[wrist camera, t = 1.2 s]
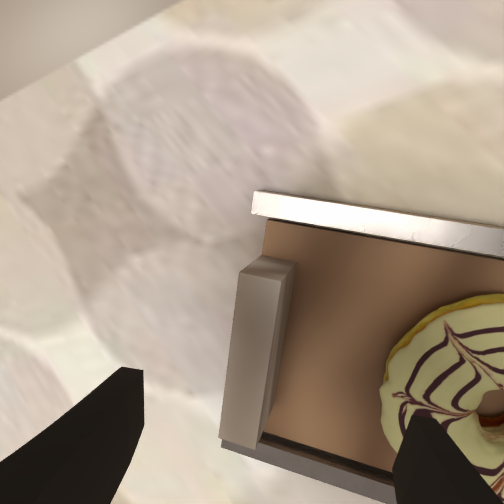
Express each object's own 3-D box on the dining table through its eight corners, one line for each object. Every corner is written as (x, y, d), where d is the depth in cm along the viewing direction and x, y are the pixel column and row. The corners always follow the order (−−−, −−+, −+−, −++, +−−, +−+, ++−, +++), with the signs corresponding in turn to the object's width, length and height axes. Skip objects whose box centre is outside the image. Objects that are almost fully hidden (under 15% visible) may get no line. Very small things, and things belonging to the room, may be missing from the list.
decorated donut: (358, 436, 22) (357, 485, 19) (407, 264, 20) (416, 282, 16) (559, 503, 20) (601, 575, 16) (644, 317, 17) (716, 353, 14)
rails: (604, 555, 20) (622, 584, 18) (229, 431, 25) (220, 447, 24) (735, 262, 16) (770, 270, 15) (261, 190, 21) (254, 191, 20)
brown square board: (660, 285, 17) (761, 324, 12) (565, 519, 20) (620, 615, 16) (269, 218, 21) (244, 229, 17) (241, 417, 24) (214, 469, 20)
